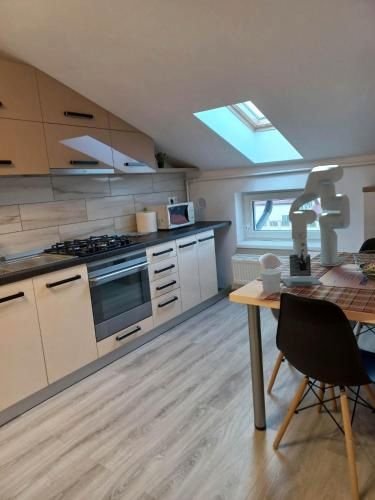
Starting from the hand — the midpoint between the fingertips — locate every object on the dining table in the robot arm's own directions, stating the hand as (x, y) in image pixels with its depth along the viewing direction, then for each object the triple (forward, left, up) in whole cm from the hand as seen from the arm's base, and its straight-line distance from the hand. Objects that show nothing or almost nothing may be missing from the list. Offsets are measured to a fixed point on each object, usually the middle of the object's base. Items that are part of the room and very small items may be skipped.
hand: (300, 268), depth 195 cm
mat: (0, 0, -8) cm, 8 cm away
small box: (0, 0, -4) cm, 4 cm away
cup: (+18, +10, -8) cm, 22 cm away
